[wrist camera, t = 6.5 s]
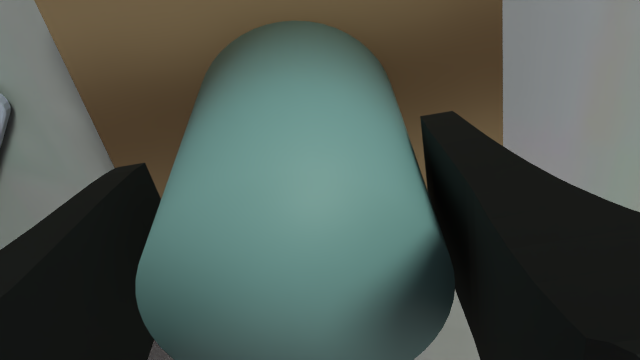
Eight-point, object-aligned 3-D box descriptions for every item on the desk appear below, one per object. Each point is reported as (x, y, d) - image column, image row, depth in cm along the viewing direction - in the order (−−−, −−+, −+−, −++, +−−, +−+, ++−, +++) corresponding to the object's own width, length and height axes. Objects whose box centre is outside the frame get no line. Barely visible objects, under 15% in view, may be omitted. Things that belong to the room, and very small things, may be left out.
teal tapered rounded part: (331, 221, 15) (348, 423, 10) (168, 151, 13) (93, 347, 9) (434, 82, 13) (521, 255, 8) (250, -21, 11) (214, 113, 6)
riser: (477, 182, 18) (503, 240, 15) (192, 226, 19) (172, 287, 16) (465, -168, 12) (501, -167, 10) (65, -79, 13) (7, -57, 11)
